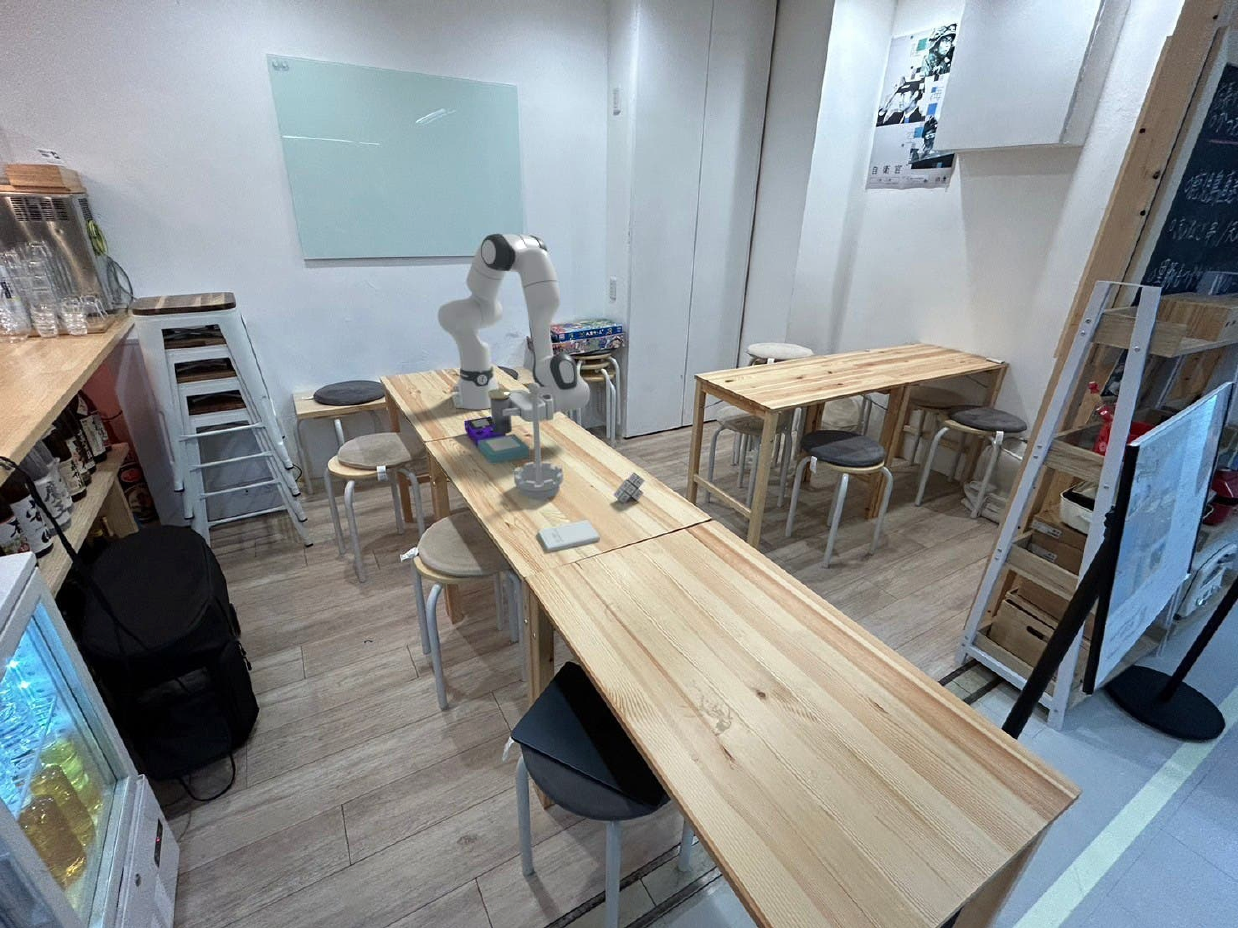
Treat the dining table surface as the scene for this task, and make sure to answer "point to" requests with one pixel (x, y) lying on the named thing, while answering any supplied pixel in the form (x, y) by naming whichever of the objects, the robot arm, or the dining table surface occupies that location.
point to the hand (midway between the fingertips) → (497, 409)
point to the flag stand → (538, 464)
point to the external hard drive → (568, 535)
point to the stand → (503, 448)
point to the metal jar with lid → (499, 402)
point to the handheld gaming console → (480, 429)
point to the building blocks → (629, 488)
